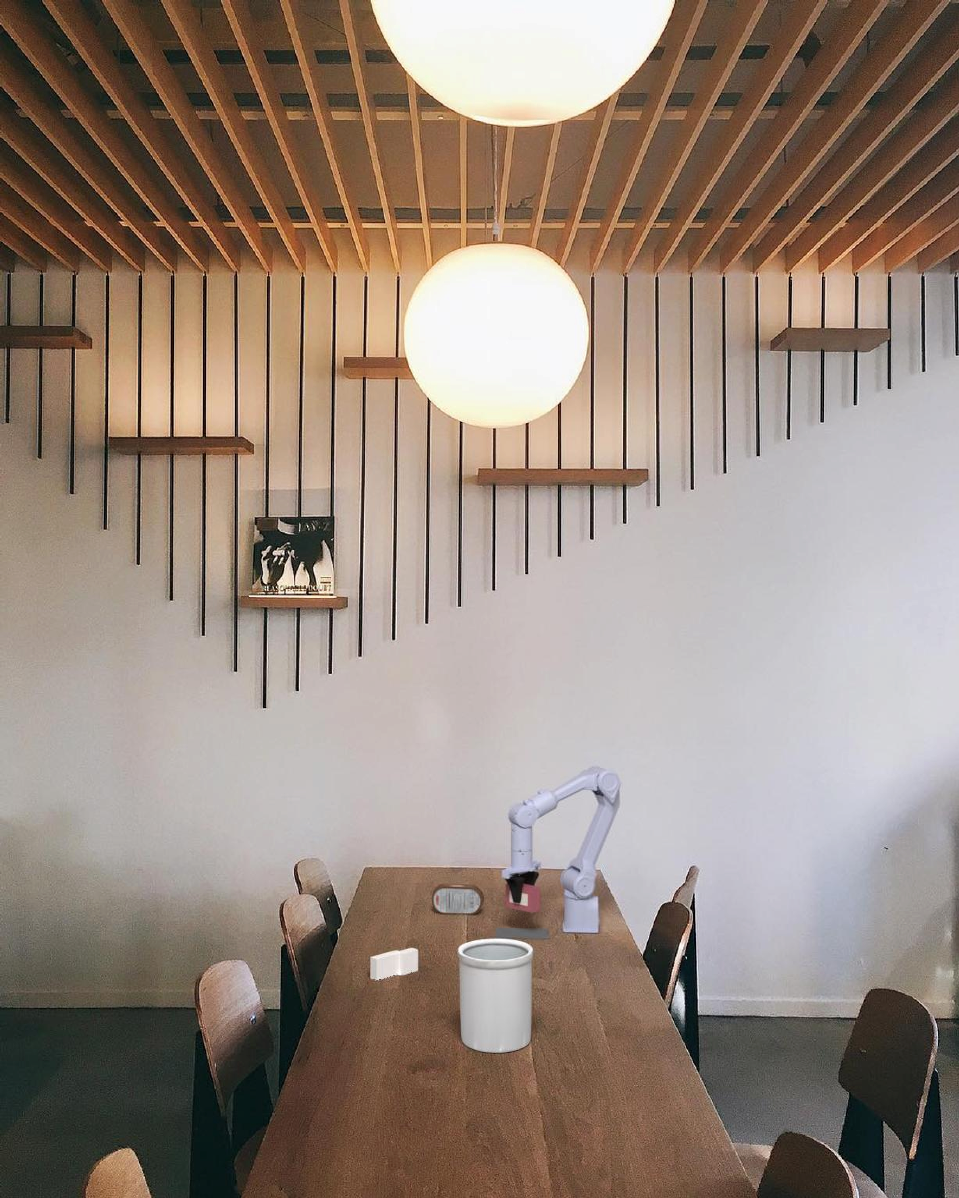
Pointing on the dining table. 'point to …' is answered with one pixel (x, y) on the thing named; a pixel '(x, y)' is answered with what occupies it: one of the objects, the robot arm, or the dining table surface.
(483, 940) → the utensil holder
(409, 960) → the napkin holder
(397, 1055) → the dining table surface
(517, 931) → the mat
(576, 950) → the dining table surface
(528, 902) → the box
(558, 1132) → the dining table surface
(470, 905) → the tin
